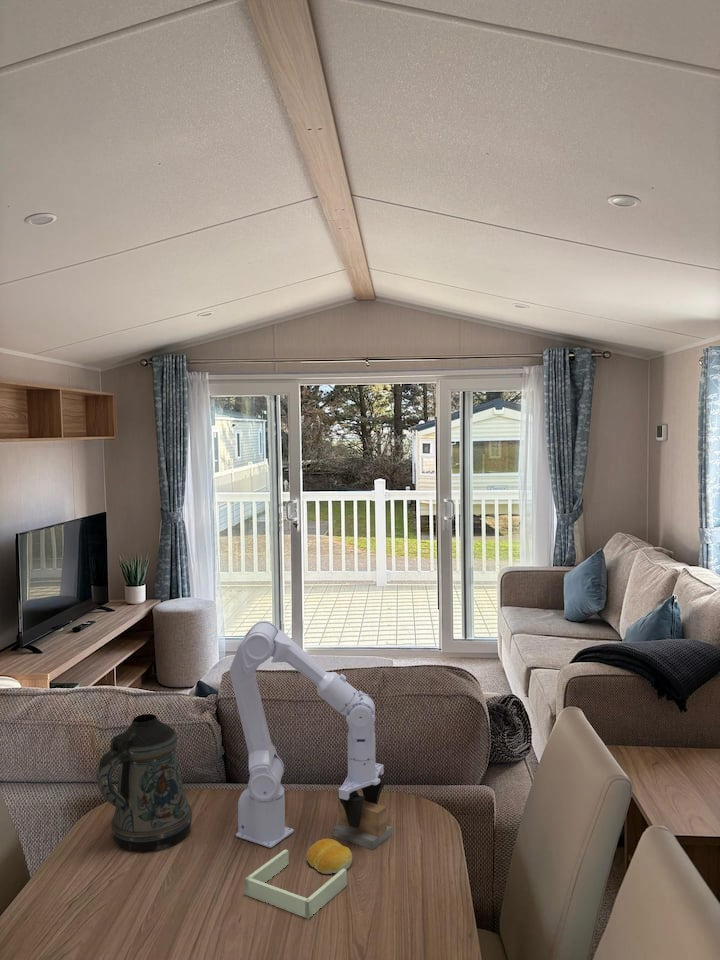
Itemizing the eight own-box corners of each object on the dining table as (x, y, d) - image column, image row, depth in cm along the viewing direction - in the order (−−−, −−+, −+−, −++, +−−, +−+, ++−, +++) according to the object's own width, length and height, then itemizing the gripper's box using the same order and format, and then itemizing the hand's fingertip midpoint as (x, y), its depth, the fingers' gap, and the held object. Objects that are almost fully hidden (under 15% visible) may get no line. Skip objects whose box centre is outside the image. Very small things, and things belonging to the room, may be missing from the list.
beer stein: (204, 817, 176) (201, 705, 174) (167, 864, 157) (163, 739, 155) (133, 811, 179) (129, 701, 177) (89, 858, 160) (84, 734, 158)
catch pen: (245, 894, 146) (244, 878, 146) (285, 864, 157) (285, 849, 156) (308, 919, 139) (308, 902, 139) (346, 885, 149) (346, 869, 149)
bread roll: (329, 881, 151) (328, 860, 151) (300, 862, 158) (299, 842, 157) (362, 865, 156) (362, 845, 156) (333, 847, 163) (332, 828, 163)
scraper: (333, 836, 167) (332, 804, 167) (352, 823, 173) (352, 791, 173) (373, 851, 162) (372, 816, 161) (392, 836, 167) (391, 803, 167)
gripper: (359, 772, 158) (360, 839, 159) (395, 747, 170) (396, 810, 171) (329, 765, 162) (330, 830, 162) (367, 740, 174) (368, 802, 175)
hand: (362, 819), depth 167 cm, fingers open, 6 cm apart
